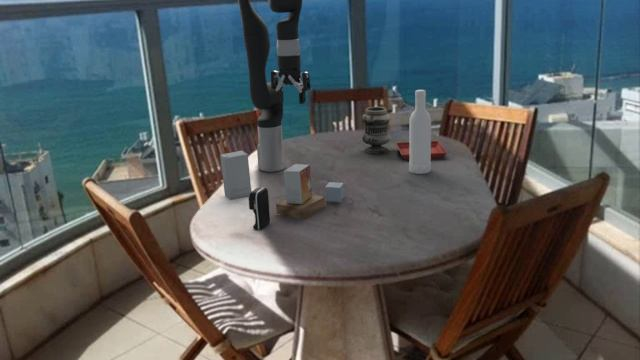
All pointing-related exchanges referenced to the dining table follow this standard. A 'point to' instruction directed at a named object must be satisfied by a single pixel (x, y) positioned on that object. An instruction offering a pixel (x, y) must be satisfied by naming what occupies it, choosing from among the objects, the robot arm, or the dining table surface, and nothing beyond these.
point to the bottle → (420, 136)
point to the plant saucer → (436, 150)
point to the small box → (298, 183)
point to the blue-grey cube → (334, 192)
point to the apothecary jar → (376, 129)
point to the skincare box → (236, 174)
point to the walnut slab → (301, 207)
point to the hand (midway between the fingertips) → (291, 102)
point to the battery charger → (260, 207)
